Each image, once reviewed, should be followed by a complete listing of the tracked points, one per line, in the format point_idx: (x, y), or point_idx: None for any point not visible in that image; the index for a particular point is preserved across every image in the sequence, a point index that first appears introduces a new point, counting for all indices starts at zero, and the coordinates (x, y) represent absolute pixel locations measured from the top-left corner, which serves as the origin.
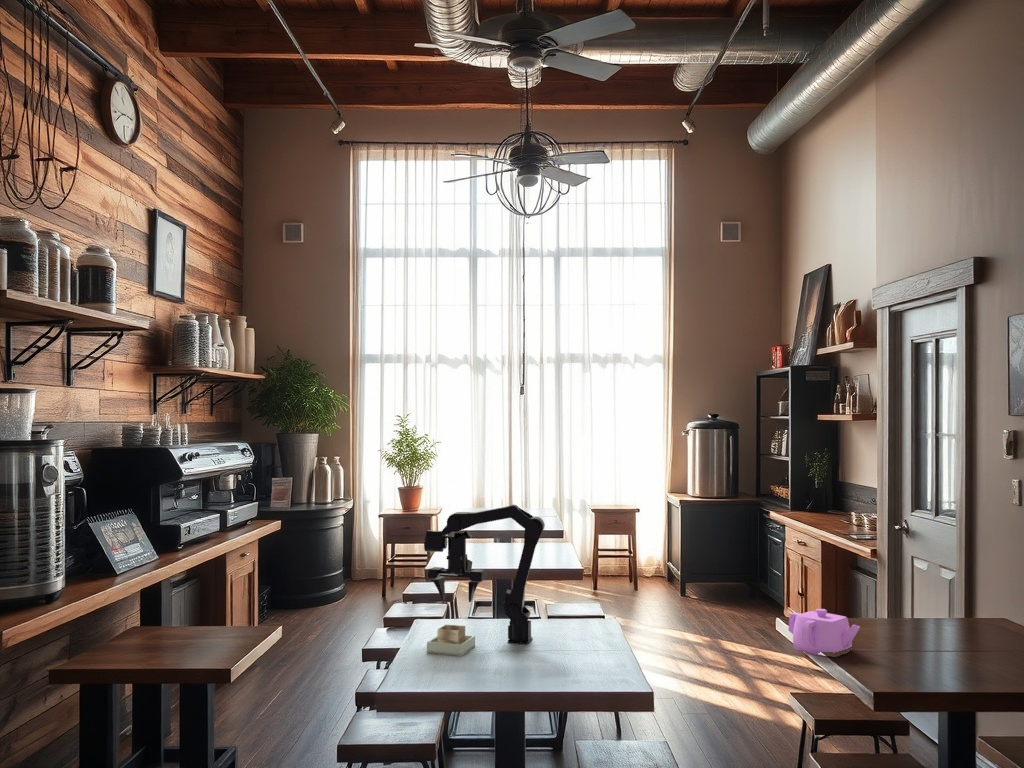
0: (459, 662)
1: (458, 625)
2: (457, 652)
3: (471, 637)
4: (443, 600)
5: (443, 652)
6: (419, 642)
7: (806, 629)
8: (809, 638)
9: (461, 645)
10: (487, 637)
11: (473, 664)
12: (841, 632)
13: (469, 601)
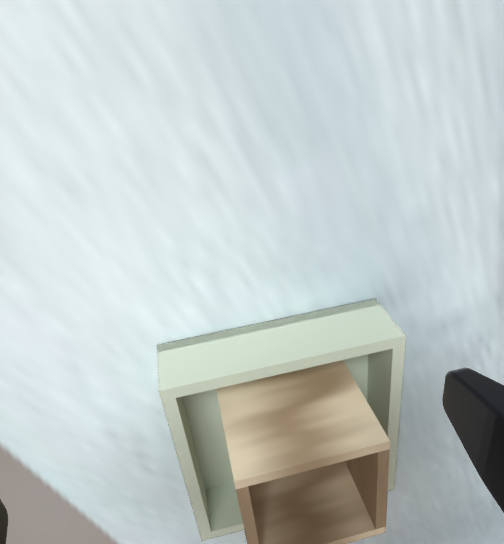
0: (392, 498)
1: (337, 455)
2: None
3: (395, 371)
4: (7, 515)
5: None
6: (5, 386)
7: None
8: None
9: (391, 487)
10: (379, 46)
11: (450, 488)
12: None
13: (457, 419)
